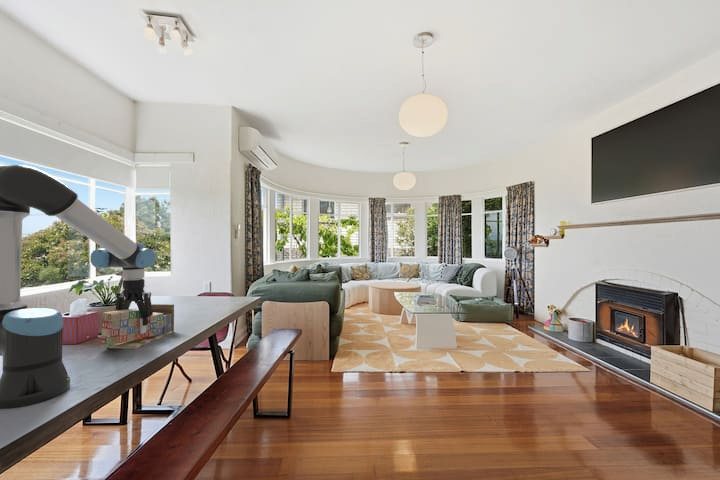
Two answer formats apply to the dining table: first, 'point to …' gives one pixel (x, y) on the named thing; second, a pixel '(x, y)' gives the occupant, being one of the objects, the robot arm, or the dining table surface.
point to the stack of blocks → (128, 326)
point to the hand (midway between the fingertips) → (133, 332)
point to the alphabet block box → (167, 329)
